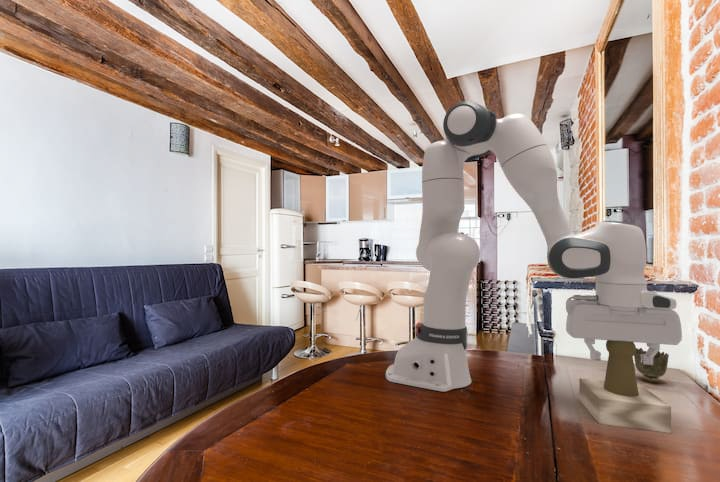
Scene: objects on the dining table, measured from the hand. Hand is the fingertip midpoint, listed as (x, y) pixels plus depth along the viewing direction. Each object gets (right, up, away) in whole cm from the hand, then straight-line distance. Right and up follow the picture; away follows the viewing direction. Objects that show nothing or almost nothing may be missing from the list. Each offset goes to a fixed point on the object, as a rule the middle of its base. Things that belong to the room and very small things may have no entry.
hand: (620, 361), depth 75 cm
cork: (0, -6, 0) cm, 6 cm away
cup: (+23, -12, +20) cm, 33 cm away
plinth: (0, -11, 0) cm, 11 cm away
